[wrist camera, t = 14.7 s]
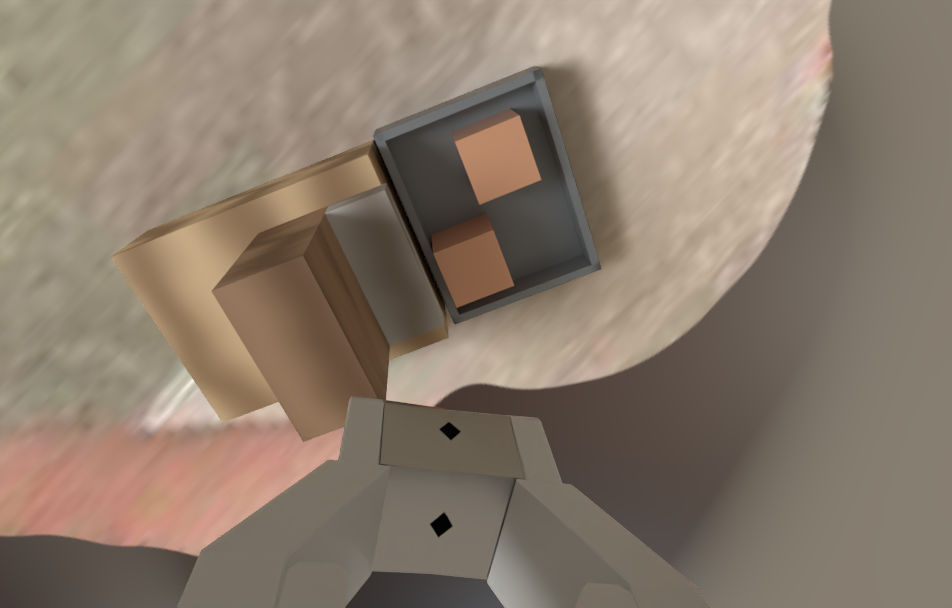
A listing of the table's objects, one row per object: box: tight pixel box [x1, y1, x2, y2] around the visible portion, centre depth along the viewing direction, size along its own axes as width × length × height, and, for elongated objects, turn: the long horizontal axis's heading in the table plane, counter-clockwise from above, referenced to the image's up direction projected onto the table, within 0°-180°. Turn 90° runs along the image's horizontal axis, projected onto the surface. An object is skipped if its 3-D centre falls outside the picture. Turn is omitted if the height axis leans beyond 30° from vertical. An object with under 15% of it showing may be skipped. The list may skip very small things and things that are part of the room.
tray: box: [373, 67, 601, 324], centre depth 44 cm, size 12×15×3 cm
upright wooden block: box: [212, 183, 444, 442], centre depth 36 cm, size 9×10×10 cm
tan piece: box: [111, 141, 449, 423], centre depth 44 cm, size 18×14×6 cm
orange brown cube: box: [431, 213, 514, 308], centre depth 45 cm, size 4×4×4 cm
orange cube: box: [451, 108, 541, 205], centre depth 42 cm, size 4×4×4 cm
